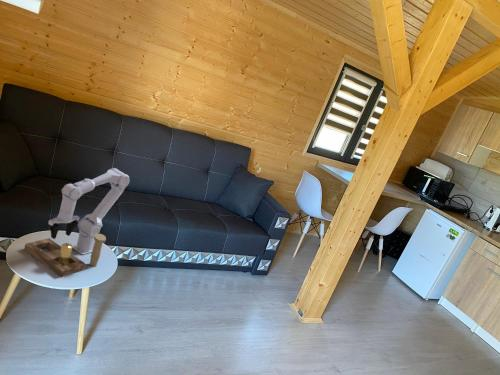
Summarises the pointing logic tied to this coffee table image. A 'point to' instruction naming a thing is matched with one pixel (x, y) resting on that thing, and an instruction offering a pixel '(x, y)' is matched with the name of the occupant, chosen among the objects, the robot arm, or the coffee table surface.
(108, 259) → the coffee table surface
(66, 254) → the peg
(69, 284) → the coffee table surface
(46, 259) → the mount block
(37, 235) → the coffee table surface
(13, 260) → the coffee table surface
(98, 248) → the handle
